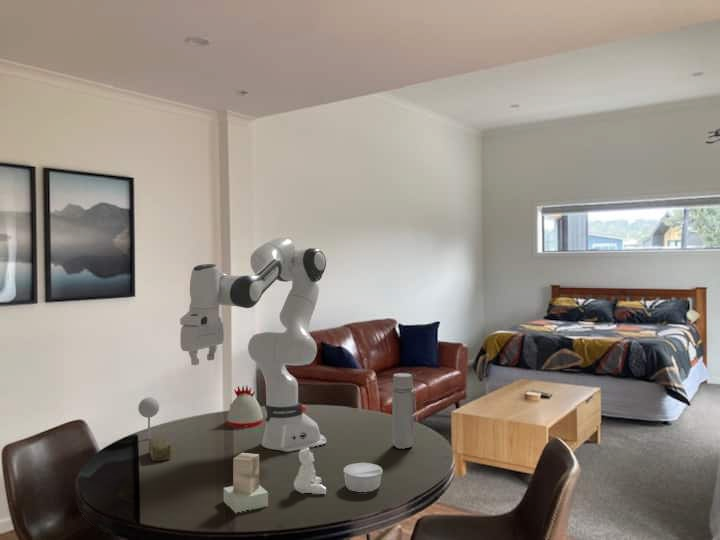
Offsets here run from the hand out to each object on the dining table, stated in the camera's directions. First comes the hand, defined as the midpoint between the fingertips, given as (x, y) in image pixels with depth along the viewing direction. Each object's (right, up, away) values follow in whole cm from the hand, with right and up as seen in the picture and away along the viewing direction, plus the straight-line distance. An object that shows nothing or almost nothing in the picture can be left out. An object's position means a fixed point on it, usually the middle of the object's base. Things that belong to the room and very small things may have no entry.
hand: (203, 362), depth 183 cm
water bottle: (+64, -33, +23) cm, 75 cm away
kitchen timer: (+2, -33, +54) cm, 63 cm away
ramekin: (+49, -34, -13) cm, 61 cm away
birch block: (+18, -30, -24) cm, 43 cm away
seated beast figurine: (+34, -34, -15) cm, 50 cm away
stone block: (-18, -33, +14) cm, 40 cm away
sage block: (+18, -34, -24) cm, 45 cm away
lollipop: (-28, -33, +33) cm, 54 cm away
